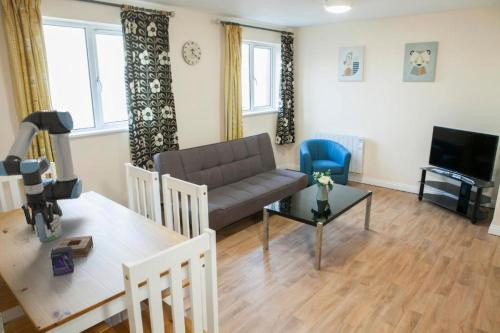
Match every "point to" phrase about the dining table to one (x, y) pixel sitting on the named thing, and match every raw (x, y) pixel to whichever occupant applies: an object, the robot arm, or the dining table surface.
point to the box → (62, 260)
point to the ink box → (55, 228)
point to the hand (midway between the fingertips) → (43, 235)
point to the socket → (78, 245)
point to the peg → (41, 227)
